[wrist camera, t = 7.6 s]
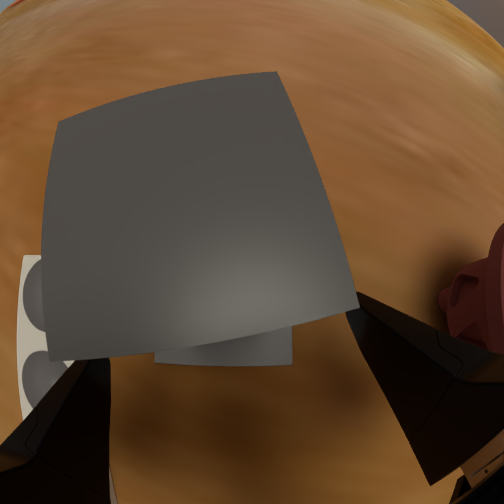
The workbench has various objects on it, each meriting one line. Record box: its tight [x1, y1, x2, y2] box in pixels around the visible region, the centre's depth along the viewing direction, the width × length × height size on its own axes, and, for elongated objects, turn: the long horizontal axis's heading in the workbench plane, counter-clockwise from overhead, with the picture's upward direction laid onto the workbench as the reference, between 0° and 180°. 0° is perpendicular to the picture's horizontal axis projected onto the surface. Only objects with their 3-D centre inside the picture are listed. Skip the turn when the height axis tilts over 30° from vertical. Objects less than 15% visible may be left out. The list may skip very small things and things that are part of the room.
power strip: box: [17, 255, 117, 504], centre depth 12 cm, size 24×6×3 cm, turn 0°
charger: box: [41, 72, 360, 362], centre depth 10 cm, size 5×4×13 cm
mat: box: [155, 326, 292, 366], centre depth 17 cm, size 8×8×1 cm
